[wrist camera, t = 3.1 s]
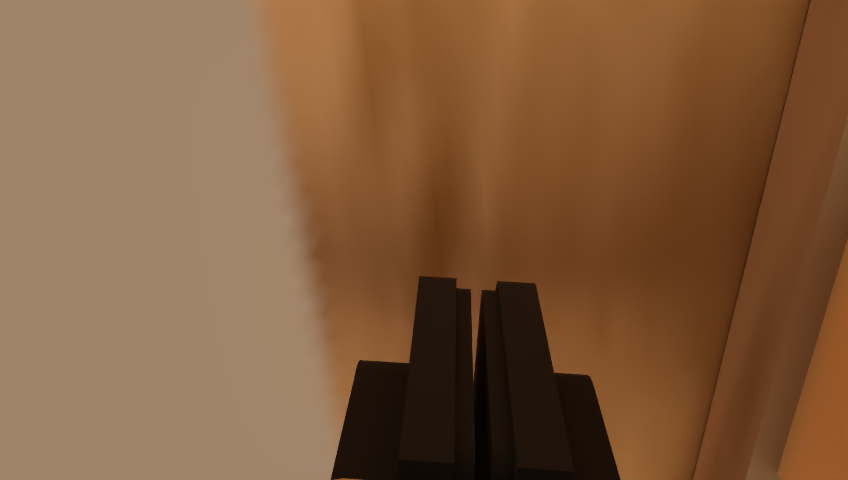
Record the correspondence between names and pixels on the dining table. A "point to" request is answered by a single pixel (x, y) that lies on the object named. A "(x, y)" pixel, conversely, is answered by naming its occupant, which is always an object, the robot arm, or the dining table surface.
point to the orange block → (823, 399)
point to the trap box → (786, 262)
